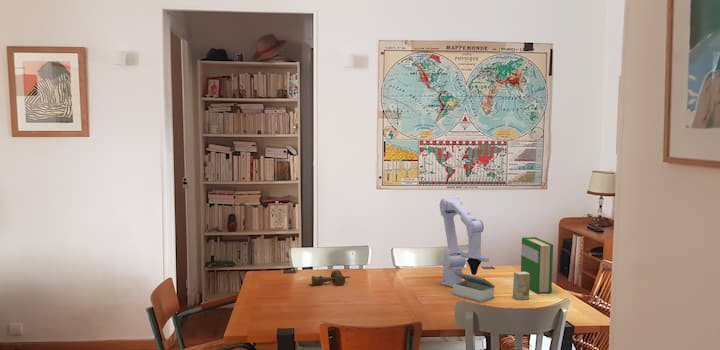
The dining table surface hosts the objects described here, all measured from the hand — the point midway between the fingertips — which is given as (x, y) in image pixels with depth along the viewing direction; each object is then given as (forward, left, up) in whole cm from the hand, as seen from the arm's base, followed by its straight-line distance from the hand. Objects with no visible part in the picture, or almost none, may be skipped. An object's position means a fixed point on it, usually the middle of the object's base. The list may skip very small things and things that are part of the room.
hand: (473, 274), depth 254 cm
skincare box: (+17, +14, -11) cm, 24 cm away
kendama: (-61, -37, -11) cm, 72 cm away
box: (0, 0, -10) cm, 10 cm away
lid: (0, 0, -3) cm, 3 cm away
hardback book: (+14, +33, -11) cm, 37 cm away
